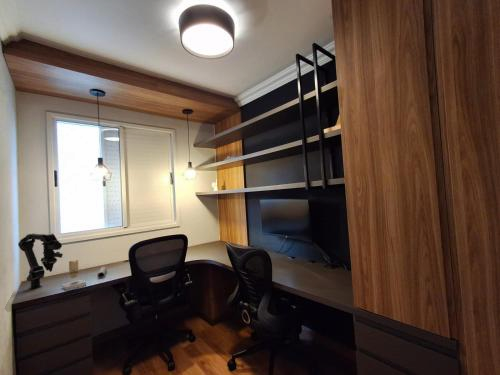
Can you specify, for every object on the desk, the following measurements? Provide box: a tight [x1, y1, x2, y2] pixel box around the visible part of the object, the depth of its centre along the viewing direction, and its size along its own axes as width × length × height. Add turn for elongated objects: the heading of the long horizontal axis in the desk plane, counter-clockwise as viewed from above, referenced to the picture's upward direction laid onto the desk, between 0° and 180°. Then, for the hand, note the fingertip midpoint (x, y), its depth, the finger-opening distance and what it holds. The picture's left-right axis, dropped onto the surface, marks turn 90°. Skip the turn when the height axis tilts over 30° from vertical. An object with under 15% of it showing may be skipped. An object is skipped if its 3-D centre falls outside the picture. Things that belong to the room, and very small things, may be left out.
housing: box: [61, 279, 87, 291], centre depth 181 cm, size 12×12×3 cm
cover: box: [67, 259, 80, 279], centre depth 182 cm, size 7×7×12 cm
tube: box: [96, 266, 108, 279], centre depth 211 cm, size 5×5×25 cm
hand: (49, 271), depth 181 cm, fingers open, 9 cm apart
